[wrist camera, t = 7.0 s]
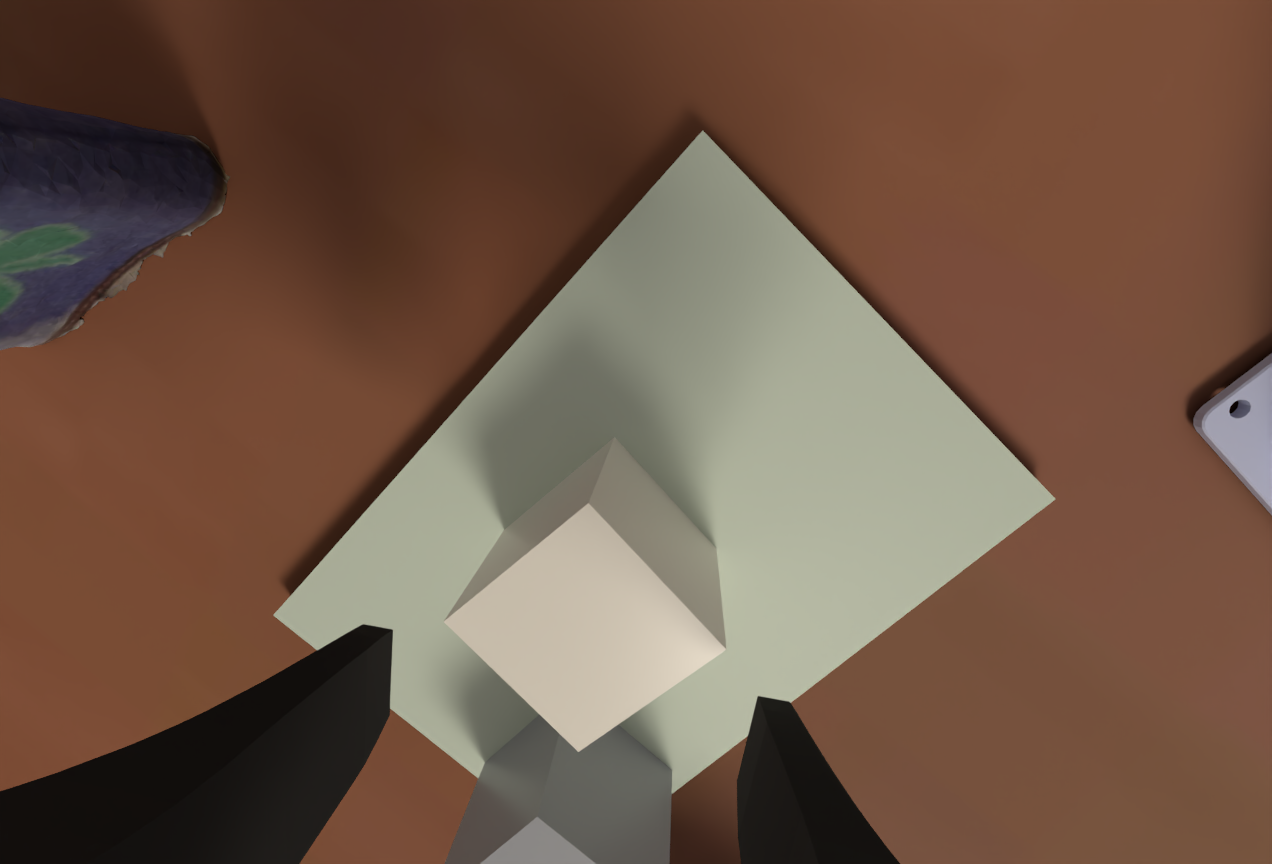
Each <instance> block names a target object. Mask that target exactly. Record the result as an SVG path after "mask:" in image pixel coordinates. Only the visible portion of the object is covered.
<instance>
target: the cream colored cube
mask: <svg viewBox="0 0 1272 864" xmlns="http://www.w3.org/2000/svg"><path fill="white" fill-rule="evenodd" d="M444 623H445V624H446V625H447V626H448V627H449V628H451V629H452V630H453V631H454V632H455V633H456V634H457V635H458V636H459V637H460V638H461V639H462V640H463V641H464V642H465V643H466V644H467V645H468V646H469V647H470V648H471V649H472V650H473V651H474V652H475V653H476V654H477V655H478V656H480V657H481V658H482V659H483V660H484V661H485V662H486V663H487V664H488V665H489V666H490V667H491V668H492V669H493V670H494V671H495V672H496V673H497V674H498V675H499V676H500V677H501V678H502V679H503V680H504V681H505V682H506V683H507V684H508V685H510V686H511V687H512V688H513V689H514V690H515V691H516V692H517V693H518V694H519V695H520V696H521V697H522V698H523V699H524V700H525V701H526V702H527V703H528V704H529V705H530V706H531V707H532V708H533V709H534V710H535V711H536V712H537V713H538V714H540V715H541V716H542V717H543V718H544V719H545V720H546V721H547V722H548V723H549V724H550V725H551V726H552V727H553V728H554V729H555V730H556V731H557V732H558V733H559V734H560V735H561V736H562V737H563V738H564V739H565V740H566V741H567V742H568V743H570V744H571V745H572V746H573V747H574V748H575V749H576V750H577V751H578V752H579V751H581V750H582V749H584V748H585V747H586V746H588V745H589V744H591V743H592V742H594V741H595V740H597V739H598V738H599V737H601V736H602V735H604V734H605V733H607V732H608V731H610V730H611V729H612V728H614V727H615V726H617V725H618V724H620V723H621V722H623V721H624V720H625V719H627V718H628V717H630V716H631V715H633V714H634V713H636V712H637V711H638V710H640V709H641V708H643V707H644V706H646V705H647V704H649V703H650V702H651V701H653V700H654V699H656V698H657V697H659V696H660V695H662V694H663V693H665V692H666V691H667V690H669V689H670V688H672V687H673V686H675V685H676V684H678V683H679V682H680V681H682V680H683V679H685V678H686V677H688V676H689V675H691V674H692V673H693V672H695V671H696V670H698V669H699V668H701V667H702V666H704V665H705V664H706V663H708V662H709V661H711V660H712V659H714V658H715V657H717V656H718V655H719V654H721V653H722V652H724V651H725V650H727V649H726V639H725V629H724V619H723V609H722V599H721V589H720V579H719V569H718V559H717V549H716V548H715V547H714V545H713V544H712V543H711V542H710V541H709V540H708V539H707V538H706V537H705V536H704V535H703V533H702V532H701V531H700V530H699V529H698V528H697V527H696V526H695V525H694V524H693V522H692V521H691V520H690V519H689V518H688V517H687V516H686V515H685V514H684V513H683V511H682V510H681V509H680V508H679V507H678V506H677V505H676V504H675V503H674V502H673V500H672V499H671V498H670V497H669V496H668V495H667V494H666V493H665V492H664V491H663V490H662V488H661V487H660V486H659V485H658V484H657V483H656V482H655V481H654V480H653V479H652V477H651V476H650V475H649V474H648V473H647V472H646V471H645V470H644V469H643V468H642V466H641V465H640V464H639V463H638V462H637V461H636V460H635V459H634V458H633V457H632V456H631V454H630V453H629V452H628V451H627V450H626V449H625V448H624V447H623V446H622V445H621V443H620V442H619V441H618V440H617V439H616V438H615V437H614V438H613V439H612V440H610V441H609V442H608V443H607V444H606V445H604V446H603V447H602V448H601V449H600V450H599V451H597V452H596V453H595V454H594V455H593V456H591V457H590V458H589V459H588V460H587V461H585V462H584V463H583V464H582V465H581V466H580V467H578V468H577V469H576V470H575V471H574V472H572V473H571V474H570V475H569V476H568V477H566V478H565V479H564V480H563V481H562V482H561V483H559V484H558V485H557V486H556V487H555V488H553V489H552V490H551V491H550V492H549V493H547V494H546V495H545V496H544V497H543V498H541V499H540V500H539V501H538V502H537V503H536V504H534V505H533V506H532V507H531V508H530V509H528V510H527V511H526V512H525V513H524V514H522V515H521V516H520V517H519V518H518V519H517V520H515V521H514V522H513V523H512V524H511V525H509V526H508V527H507V528H506V529H505V530H504V531H503V532H502V534H501V536H500V537H499V539H498V540H497V542H496V543H495V545H494V546H493V548H492V549H491V551H490V552H489V554H488V555H487V557H486V558H485V560H484V561H483V563H482V564H481V566H480V567H479V569H478V570H477V572H476V573H475V575H474V576H473V578H472V579H471V581H470V582H469V584H468V585H467V587H466V588H465V590H464V591H463V593H462V595H461V596H460V598H459V599H458V601H457V602H456V604H455V605H454V607H453V608H452V610H451V611H450V613H449V614H448V616H447V617H446V619H445V620H444Z"/></svg>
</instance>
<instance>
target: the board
mask: <svg viewBox="0 0 1272 864" xmlns="http://www.w3.org/2000/svg"><path fill="white" fill-rule="evenodd" d="M614 437H615V438H616V439H617V440H618V441H619V442H620V443H621V445H622V446H623V447H624V448H625V449H626V450H627V451H628V452H629V453H630V454H631V456H632V457H633V458H634V459H635V460H636V461H637V462H638V463H639V464H640V465H641V466H642V468H643V469H644V470H645V471H646V472H647V473H648V474H649V475H650V476H651V477H652V479H653V480H654V481H655V482H656V483H657V484H658V485H659V486H660V487H661V488H662V490H663V491H664V492H665V493H666V494H667V495H668V496H669V497H670V498H671V499H672V500H673V502H674V503H675V504H676V505H677V506H678V507H679V508H680V509H681V510H682V511H683V513H684V514H685V515H686V516H687V517H688V518H689V519H690V520H691V521H692V522H693V524H694V525H695V526H696V527H697V528H698V529H699V530H700V531H701V532H702V533H703V535H704V536H705V537H706V538H707V539H708V540H709V541H710V542H711V543H712V544H713V545H714V547H715V548H716V549H717V559H718V569H719V579H720V589H721V599H722V609H723V619H724V629H725V639H726V649H727V650H725V651H724V652H722V653H721V654H719V655H718V656H717V657H715V658H714V659H712V660H711V661H709V662H708V663H706V664H705V665H704V666H702V667H701V668H699V669H698V670H696V671H695V672H693V673H692V674H691V675H689V676H688V677H686V678H685V679H683V680H682V681H680V682H679V683H678V684H676V685H675V686H673V687H672V688H670V689H669V690H667V691H666V692H665V693H663V694H662V695H660V696H659V697H657V698H656V699H654V700H653V701H651V702H650V703H649V704H647V705H646V706H644V707H643V708H641V709H640V710H638V711H637V712H636V713H634V714H633V715H631V716H630V717H628V718H627V719H625V720H624V721H623V722H621V723H620V724H618V725H619V726H621V727H622V728H623V729H624V730H625V731H627V732H628V733H629V734H630V735H631V736H632V737H634V738H635V739H636V740H637V741H638V742H640V743H641V744H642V745H643V746H644V747H645V748H647V749H648V750H649V751H650V752H651V753H653V754H654V755H655V756H656V757H657V758H659V759H660V760H661V761H662V762H663V763H664V764H666V765H667V766H668V767H669V768H670V769H672V794H673V793H674V792H675V791H676V790H678V789H679V788H680V787H682V786H683V785H684V784H686V783H687V782H688V781H690V780H691V779H692V778H693V777H695V776H696V775H697V774H699V773H700V772H701V771H703V770H704V769H705V768H706V767H708V766H709V765H710V764H712V763H713V762H714V761H716V760H717V759H718V758H719V757H721V756H722V755H723V754H725V753H726V752H727V751H729V750H730V749H731V748H732V747H734V746H735V745H736V744H738V743H739V742H740V741H742V740H743V739H744V738H745V737H747V736H748V734H749V730H750V726H751V722H752V717H753V713H754V709H755V705H756V701H757V697H758V696H761V697H767V698H772V699H778V700H783V701H789V702H790V703H791V702H792V701H794V700H795V699H796V698H797V697H799V696H800V695H801V694H803V693H804V692H805V691H807V690H808V689H809V688H810V687H812V686H813V685H814V684H816V683H817V682H818V681H820V680H821V679H822V678H823V677H825V676H826V675H827V674H829V673H830V672H831V671H833V670H834V669H835V668H837V667H838V666H839V665H840V664H842V663H843V662H844V661H846V660H847V659H848V658H850V657H851V656H852V655H853V654H855V653H856V652H857V651H859V650H860V649H861V648H863V647H864V646H865V645H866V644H868V643H869V642H870V641H872V640H873V639H874V638H876V637H877V636H878V635H879V634H881V633H882V632H883V631H885V630H886V629H887V628H889V627H890V626H891V625H892V624H894V623H895V622H896V621H898V620H899V619H900V618H902V617H903V616H904V615H905V614H907V613H908V612H909V611H911V610H912V609H913V608H915V607H916V606H917V605H918V604H920V603H921V602H922V601H924V600H925V599H926V598H928V597H929V596H930V595H931V594H933V593H934V592H935V591H937V590H938V589H939V588H941V587H942V586H943V585H944V584H946V583H947V582H948V581H950V580H951V579H952V578H954V577H955V576H956V575H957V574H959V573H960V572H961V571H963V570H964V569H965V568H967V567H968V566H969V565H970V564H972V563H973V562H974V561H976V560H977V559H978V558H980V557H981V556H982V555H984V554H985V553H986V552H987V551H989V550H990V549H991V548H993V547H994V546H995V545H997V544H998V543H999V542H1000V541H1002V540H1003V539H1004V538H1006V537H1007V536H1008V535H1010V534H1011V533H1012V532H1013V531H1015V530H1016V529H1017V528H1019V527H1020V526H1021V525H1023V524H1024V523H1025V522H1026V521H1028V520H1029V519H1030V518H1032V517H1033V516H1034V515H1036V514H1037V513H1038V512H1039V511H1041V510H1042V509H1043V508H1045V507H1046V506H1047V505H1049V504H1050V503H1051V502H1052V501H1054V500H1055V498H1054V497H1053V496H1052V495H1051V494H1050V493H1049V492H1048V491H1047V490H1046V489H1045V488H1044V486H1043V485H1042V484H1041V483H1040V482H1039V481H1038V480H1037V479H1036V478H1035V477H1034V476H1033V475H1032V474H1031V473H1030V472H1029V471H1028V470H1027V469H1026V468H1025V467H1024V466H1023V465H1022V463H1021V462H1020V461H1019V460H1018V459H1017V458H1016V457H1015V456H1014V455H1013V454H1012V453H1011V452H1010V451H1009V450H1008V449H1007V448H1006V447H1005V446H1004V445H1003V444H1002V443H1001V442H1000V440H999V439H998V438H997V437H996V436H995V435H994V434H993V433H992V432H991V431H990V430H989V429H988V428H987V427H986V426H985V425H984V424H983V423H982V422H981V421H980V420H979V419H978V418H977V416H976V415H975V414H974V413H973V412H972V411H971V410H970V409H969V408H968V407H967V406H966V405H965V404H964V403H963V402H962V401H961V400H960V399H959V398H958V397H957V396H956V395H955V393H954V392H953V391H952V390H951V389H950V388H949V387H948V386H947V385H946V384H945V383H944V382H943V381H942V380H941V379H940V378H939V377H938V376H937V375H936V374H935V373H934V372H933V370H932V369H931V368H930V367H929V366H928V365H927V364H926V363H925V362H924V361H923V360H922V359H921V358H920V357H919V356H918V355H917V354H916V353H915V352H914V351H913V350H912V349H911V347H910V346H909V345H908V344H907V343H906V342H905V341H904V340H903V339H902V338H901V337H900V336H899V335H898V334H897V333H896V332H895V331H894V330H893V329H892V328H891V327H890V326H889V325H888V323H887V322H886V321H885V320H884V319H883V318H882V317H881V316H880V315H879V314H878V313H877V312H876V311H875V310H874V309H873V308H872V307H871V306H870V305H869V304H868V303H867V302H866V300H865V299H864V298H863V297H862V296H861V295H860V294H859V293H858V292H857V291H856V290H855V289H854V288H853V287H852V286H851V285H850V284H849V283H848V282H847V281H846V280H845V279H844V277H843V276H842V275H841V274H840V273H839V272H838V271H837V270H836V269H835V268H834V267H833V266H832V265H831V264H830V263H829V262H828V261H827V260H826V259H825V258H824V257H823V256H822V254H821V253H820V252H819V251H818V250H817V249H816V248H815V247H814V246H813V245H812V244H811V243H810V242H809V241H808V240H807V239H806V238H805V237H804V236H803V235H802V234H801V233H800V231H799V230H798V229H797V228H796V227H795V226H794V225H793V224H792V223H791V222H790V221H789V220H788V219H787V218H786V217H785V216H784V215H783V214H782V213H781V212H780V211H779V210H778V209H777V207H776V206H775V205H774V204H773V203H772V202H771V201H770V200H769V199H768V198H767V197H766V196H765V195H764V194H763V193H762V192H761V191H760V190H759V189H758V188H757V187H756V186H755V184H754V183H753V182H752V181H751V180H750V179H749V178H748V177H747V176H746V175H745V174H744V173H743V172H742V171H741V170H740V169H739V168H738V167H737V166H736V165H735V164H734V163H733V161H732V160H731V159H730V158H729V157H728V156H727V155H726V154H725V153H724V152H723V151H722V150H721V149H720V148H719V147H718V146H717V145H716V144H715V143H714V142H713V141H712V140H711V138H710V137H709V136H708V135H707V134H706V133H705V132H704V131H702V132H701V133H700V134H699V135H698V136H697V137H696V138H695V140H694V141H693V142H692V143H691V144H690V145H689V146H688V147H687V149H686V150H685V151H684V152H683V153H682V154H681V155H680V157H679V158H678V159H677V160H676V161H675V162H674V163H673V164H672V166H671V167H670V168H669V169H668V170H667V171H666V172H665V173H664V175H663V176H662V177H661V178H660V179H659V180H658V181H657V182H656V184H655V185H654V186H653V187H652V188H651V189H650V190H649V192H648V193H647V194H646V195H645V196H644V197H643V198H642V199H641V201H640V202H639V203H638V204H637V205H636V206H635V207H634V208H633V210H632V211H631V212H630V213H629V214H628V215H627V216H626V217H625V219H624V220H623V221H622V222H621V223H620V224H619V225H618V227H617V228H616V229H615V230H614V231H613V232H612V233H611V234H610V236H609V237H608V238H607V239H606V240H605V241H604V242H603V243H602V245H601V246H600V247H599V248H598V249H597V250H596V251H595V253H594V254H593V255H592V256H591V257H590V258H589V259H588V260H587V262H586V263H585V264H584V265H583V266H582V267H581V268H580V269H579V271H578V272H577V273H576V274H575V275H574V276H573V277H572V278H571V280H570V281H569V282H568V283H567V284H566V285H565V286H564V288H563V289H562V290H561V291H560V292H559V293H558V294H557V295H556V297H555V298H554V299H553V300H552V301H551V302H550V303H549V304H548V306H547V307H546V308H545V309H544V310H543V311H542V312H541V314H540V315H539V316H538V317H537V318H536V319H535V320H534V321H533V323H532V324H531V325H530V326H529V327H528V328H527V329H526V330H525V332H524V333H523V334H522V335H521V336H520V337H519V338H518V339H517V341H516V342H515V343H514V344H513V345H512V346H511V347H510V349H509V350H508V351H507V352H506V353H505V354H504V355H503V356H502V358H501V359H500V360H499V361H498V362H497V363H496V364H495V365H494V367H493V368H492V369H491V370H490V371H489V372H488V373H487V374H486V376H485V377H484V378H483V379H482V380H481V381H480V382H479V384H478V385H477V386H476V387H475V388H474V389H473V390H472V391H471V393H470V394H469V395H468V396H467V397H466V398H465V399H464V400H463V402H462V403H461V404H460V405H459V406H458V407H457V408H456V410H455V411H454V412H453V413H452V414H451V415H450V416H449V417H448V419H447V420H446V421H445V422H444V423H443V424H442V425H441V426H440V428H439V429H438V430H437V431H436V432H435V433H434V434H433V435H432V437H431V438H430V439H429V440H428V441H427V442H426V443H425V445H424V446H423V447H422V448H421V449H420V450H419V451H418V452H417V454H416V455H415V456H414V457H413V458H412V459H411V460H410V461H409V463H408V464H407V465H406V466H405V467H404V468H403V469H402V471H401V472H400V473H399V474H398V475H397V476H396V477H395V478H394V480H393V481H392V482H391V483H390V484H389V485H388V486H387V487H386V489H385V490H384V491H383V492H382V493H381V494H380V495H379V496H378V498H377V499H376V500H375V501H374V502H373V503H372V504H371V506H370V507H369V508H368V509H367V510H366V511H365V512H364V513H363V515H362V516H361V517H360V518H359V519H358V520H357V521H356V522H355V524H354V525H353V526H352V527H351V528H350V529H349V530H348V532H347V533H346V534H345V535H344V536H343V537H342V538H341V539H340V541H339V542H338V543H337V544H336V545H335V546H334V547H333V548H332V550H331V551H330V552H329V553H328V554H327V555H326V556H325V557H324V559H323V560H322V561H321V562H320V563H319V564H318V565H317V567H316V568H315V569H314V570H313V571H312V572H311V573H310V574H309V576H308V577H307V578H306V579H305V580H304V581H303V582H302V583H301V585H300V586H299V587H298V588H297V589H296V590H295V591H294V592H293V594H292V595H291V596H290V597H289V598H288V599H287V600H286V602H285V603H284V604H283V605H282V606H281V607H280V608H279V609H278V611H277V612H276V613H275V614H274V616H275V617H276V618H277V619H279V620H280V621H281V622H282V623H284V624H285V625H286V626H287V627H289V628H290V629H291V630H292V631H294V632H295V633H296V634H297V635H299V636H300V637H301V638H302V639H304V640H305V641H306V642H307V643H309V644H310V645H311V646H312V647H314V648H315V649H316V650H319V649H321V648H322V647H324V646H326V645H327V644H329V643H331V642H332V641H334V640H336V639H337V638H339V637H341V636H343V635H344V634H346V633H348V632H350V631H351V630H353V629H355V628H357V627H359V626H361V625H362V624H365V625H371V626H376V627H382V628H387V629H393V643H392V667H391V691H390V709H392V710H393V711H394V712H396V713H397V714H398V715H399V716H401V717H402V718H403V719H404V720H406V721H407V722H408V723H409V724H411V725H412V726H413V727H414V728H416V729H417V730H418V731H419V732H421V733H422V734H423V735H424V736H426V737H427V738H428V739H429V740H431V741H432V742H433V743H435V744H436V745H437V746H438V747H440V748H441V749H442V750H443V751H445V752H446V753H447V754H448V755H450V756H451V757H452V758H453V759H455V760H456V761H457V762H458V763H460V764H461V765H462V766H463V767H465V768H466V769H467V770H468V771H470V772H471V773H472V774H473V775H475V776H476V777H477V778H479V776H480V773H481V771H482V768H483V766H484V763H485V762H486V761H487V760H488V759H489V758H491V757H492V756H493V755H494V754H495V753H496V752H497V751H499V750H500V749H501V748H502V747H503V746H504V745H505V744H506V743H508V742H509V741H510V740H511V739H512V738H513V737H514V736H516V735H517V734H518V733H519V732H520V731H521V730H522V729H523V728H525V727H526V726H527V725H528V724H529V723H530V722H531V721H533V720H534V719H535V718H536V717H537V716H538V715H539V714H538V713H537V712H536V711H535V710H534V709H533V708H532V707H531V706H530V705H529V704H528V703H527V702H526V701H525V700H524V699H523V698H522V697H521V696H520V695H519V694H518V693H517V692H516V691H515V690H514V689H513V688H512V687H511V686H510V685H508V684H507V683H506V682H505V681H504V680H503V679H502V678H501V677H500V676H499V675H498V674H497V673H496V672H495V671H494V670H493V669H492V668H491V667H490V666H489V665H488V664H487V663H486V662H485V661H484V660H483V659H482V658H481V657H480V656H478V655H477V654H476V653H475V652H474V651H473V650H472V649H471V648H470V647H469V646H468V645H467V644H466V643H465V642H464V641H463V640H462V639H461V638H460V637H459V636H458V635H457V634H456V633H455V632H454V631H453V630H452V629H451V628H449V627H448V626H447V625H446V624H445V623H444V620H445V619H446V617H447V616H448V614H449V613H450V611H451V610H452V608H453V607H454V605H455V604H456V602H457V601H458V599H459V598H460V596H461V595H462V593H463V591H464V590H465V588H466V587H467V585H468V584H469V582H470V581H471V579H472V578H473V576H474V575H475V573H476V572H477V570H478V569H479V567H480V566H481V564H482V563H483V561H484V560H485V558H486V557H487V555H488V554H489V552H490V551H491V549H492V548H493V546H494V545H495V543H496V542H497V540H498V539H499V537H500V536H501V534H502V532H503V531H504V530H505V529H506V528H507V527H508V526H509V525H511V524H512V523H513V522H514V521H515V520H517V519H518V518H519V517H520V516H521V515H522V514H524V513H525V512H526V511H527V510H528V509H530V508H531V507H532V506H533V505H534V504H536V503H537V502H538V501H539V500H540V499H541V498H543V497H544V496H545V495H546V494H547V493H549V492H550V491H551V490H552V489H553V488H555V487H556V486H557V485H558V484H559V483H561V482H562V481H563V480H564V479H565V478H566V477H568V476H569V475H570V474H571V473H572V472H574V471H575V470H576V469H577V468H578V467H580V466H581V465H582V464H583V463H584V462H585V461H587V460H588V459H589V458H590V457H591V456H593V455H594V454H595V453H596V452H597V451H599V450H600V449H601V448H602V447H603V446H604V445H606V444H607V443H608V442H609V441H610V440H612V439H613V438H614Z"/></svg>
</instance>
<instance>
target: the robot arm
mask: <svg viewBox="0 0 1272 864" xmlns="http://www.w3.org/2000/svg"><path fill="white" fill-rule="evenodd" d="M1236 401H1238V407H1237V409H1236V410H1235V411H1234V412H1233V413H1231V414H1230V413H1229V410H1230V406H1231V405H1232V404H1233V403H1234V402H1236ZM1193 425H1194V427H1195V429H1196V431H1197V432H1198V433H1199V434H1200V435H1201V437H1202V438H1203V439H1204V440H1205V441H1206V442H1207V443H1208V444H1209V446H1210V447H1211V448H1212V449H1213V450H1214V451H1215V452H1216V453H1217V454H1218V456H1219V457H1220V458H1221V459H1222V460H1223V461H1224V462H1225V463H1226V465H1227V466H1228V467H1229V468H1230V469H1231V470H1232V471H1233V472H1234V474H1235V475H1236V476H1237V477H1238V478H1239V479H1240V480H1241V481H1242V483H1243V484H1244V485H1245V486H1246V487H1247V488H1248V489H1249V490H1250V492H1251V493H1252V494H1253V495H1254V496H1255V497H1256V498H1257V499H1258V500H1259V502H1260V503H1261V504H1262V505H1263V506H1264V507H1265V508H1266V509H1267V511H1268V512H1269V513H1270V514H1271V515H1272V353H1271V354H1270V355H1269V356H1267V357H1266V358H1265V359H1263V360H1262V361H1261V362H1259V363H1258V364H1257V365H1255V366H1254V367H1253V368H1251V369H1250V370H1249V371H1248V372H1246V373H1245V374H1244V375H1242V376H1241V377H1240V378H1238V379H1237V380H1236V381H1234V382H1233V383H1232V384H1230V385H1229V386H1228V387H1226V388H1225V389H1224V390H1223V391H1221V392H1220V393H1219V394H1217V395H1216V396H1215V397H1213V398H1212V399H1211V400H1209V401H1208V402H1207V403H1205V404H1204V405H1203V406H1202V407H1201V408H1200V409H1199V410H1198V411H1197V412H1196V414H1195V416H1194V418H1193ZM392 643H393V629H387V628H382V627H376V626H371V625H365V624H362V625H361V626H359V627H357V628H355V629H353V630H351V631H350V632H348V633H346V634H344V635H343V636H341V637H339V638H337V639H336V640H334V641H332V642H331V643H329V644H327V645H326V646H324V647H322V648H321V649H319V650H317V651H315V652H314V653H312V654H310V655H309V656H307V657H305V658H303V659H302V660H300V661H298V662H296V663H295V664H293V665H291V666H289V667H288V668H286V669H284V670H283V671H281V672H279V673H277V674H276V675H274V676H272V677H270V678H269V679H267V680H265V681H263V682H261V683H259V684H257V685H255V686H254V687H252V688H250V689H248V690H246V691H244V692H242V693H240V694H238V695H236V696H234V697H233V698H231V699H229V700H227V701H225V702H223V703H221V704H219V705H217V706H215V707H213V708H211V709H210V710H208V711H205V712H203V713H201V714H199V715H197V716H195V717H193V718H191V719H189V720H187V721H184V722H182V723H180V724H178V725H176V726H174V727H171V728H169V729H167V730H164V731H162V732H160V733H158V734H155V735H153V736H151V737H148V738H146V739H144V740H141V741H139V742H137V743H134V744H132V745H129V746H127V747H124V748H122V749H119V750H116V751H114V752H111V753H108V754H106V755H103V756H100V757H98V758H95V759H92V760H90V761H87V762H84V763H82V764H79V765H77V766H74V767H71V768H69V769H66V770H63V771H61V772H58V773H55V774H52V775H49V776H46V777H43V778H40V779H37V780H34V781H31V782H28V783H25V784H22V785H19V786H16V787H13V788H10V789H6V790H3V791H0V864H299V863H300V862H301V860H302V859H303V857H304V856H305V854H306V853H307V851H308V850H309V848H310V847H311V845H312V844H313V842H314V841H315V839H316V838H317V836H318V835H319V833H320V832H321V830H322V829H323V827H324V826H325V824H326V823H327V821H328V820H329V818H330V817H331V815H332V814H333V812H334V811H335V809H336V808H337V806H338V805H339V803H340V802H341V800H342V799H343V797H344V796H345V794H346V793H347V791H348V790H349V788H350V787H351V785H352V783H353V782H354V780H355V779H356V777H357V776H358V774H359V773H360V771H361V770H362V768H363V766H364V765H365V763H366V761H367V759H368V757H369V755H370V753H371V751H372V749H373V748H374V746H375V744H376V742H377V740H378V738H379V736H380V734H381V732H382V730H383V728H384V726H385V723H386V721H387V719H388V717H389V715H390V691H391V667H392ZM737 812H738V840H739V848H740V857H741V864H900V863H899V862H898V861H897V859H896V858H895V857H894V856H893V854H892V853H891V852H890V851H889V849H888V848H887V847H886V846H885V844H884V843H883V842H882V840H881V839H880V838H879V836H878V835H877V834H876V832H875V831H874V830H873V828H872V827H871V826H870V824H869V823H868V822H867V820H866V819H865V818H864V816H863V815H862V813H861V812H860V810H859V809H858V808H857V806H856V805H855V803H854V802H853V800H852V799H851V797H850V796H849V794H848V793H847V792H846V790H845V789H844V787H843V786H842V784H841V783H840V781H839V780H838V778H837V777H836V775H835V774H834V772H833V771H832V769H831V767H830V766H829V764H828V763H827V761H826V760H825V758H824V756H823V755H822V753H821V752H820V750H819V748H818V747H817V745H816V744H815V742H814V740H813V739H812V737H811V735H810V734H809V732H808V731H807V729H806V727H805V726H804V724H803V722H802V721H801V719H800V717H799V716H798V714H797V712H796V711H795V709H794V707H793V706H792V705H791V703H790V702H789V701H783V700H778V699H772V698H767V697H761V696H758V697H757V701H756V705H755V709H754V713H753V717H752V722H751V726H750V730H749V734H748V738H747V742H746V746H745V750H744V754H743V759H742V763H741V767H740V771H739V775H738V779H737Z"/></svg>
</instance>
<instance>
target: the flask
mask: <svg viewBox="0 0 1272 864" xmlns="http://www.w3.org/2000/svg"><path fill="white" fill-rule="evenodd" d="M229 178H230V176H228V175H226V174H225V172H224V169H223V168H222V166H221V164H220V163H219V162H218V160H217V158H216V157H215V155H214V154H213V152H212V151H211V149H210V148H209V146H208V145H206V144H204V143H202V142H201V141H200V140H198V139H197V138H196V137H194V136H187V135H181V134H175V133H171V132H163V131H157V130H153V129H147V128H142V127H137V126H132V125H128V124H124V123H120V122H116V121H112V120H108V119H104V118H100V117H95V116H90V115H83V114H76V113H71V112H64V111H59V110H54V109H49V108H44V107H39V106H33V105H28V104H23V103H19V102H16V101H12V100H8V99H4V98H0V350H3V349H7V348H12V347H16V346H19V347H33V346H36V345H43V344H45V343H47V342H50V341H52V340H54V339H55V338H57V337H60V336H63V335H65V334H66V333H68V332H69V331H72V330H74V329H78V328H79V326H80V325H82V324H83V323H84V321H83V320H80V316H84V314H85V313H86V311H88V310H89V309H91V308H92V307H93V306H95V305H97V304H98V301H104V300H105V298H107V297H110V298H112V297H114V296H115V295H116V294H117V293H118V292H119V291H121V290H127V287H128V285H129V283H131V282H133V281H135V280H136V277H137V274H138V275H139V273H138V272H137V270H140V269H141V268H140V266H141V264H142V263H143V261H142V260H144V259H146V257H149V256H151V255H152V254H154V255H158V256H160V257H163V252H164V251H165V250H166V247H167V245H168V242H170V241H171V240H173V239H174V238H175V237H178V236H183V235H187V234H188V235H189V236H192V235H191V234H190V233H191V232H192V231H194V229H196V228H197V227H199V226H202V225H204V224H205V223H206V222H207V221H208V220H210V219H211V218H212V217H215V216H216V215H218V214H220V213H221V212H222V209H223V205H224V203H225V198H226V196H225V193H226V192H227V182H228V180H229Z"/></svg>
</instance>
